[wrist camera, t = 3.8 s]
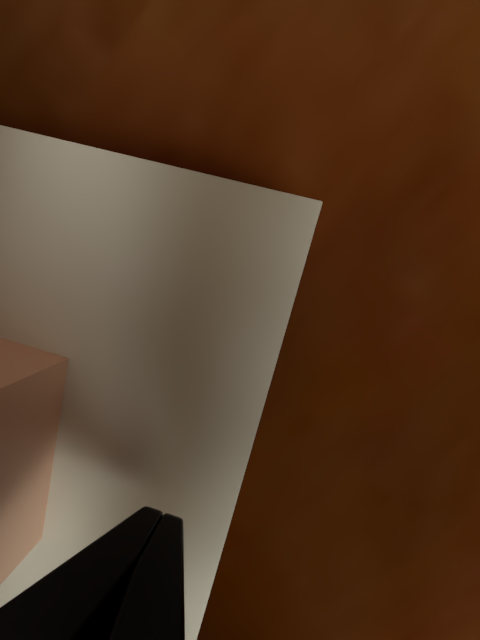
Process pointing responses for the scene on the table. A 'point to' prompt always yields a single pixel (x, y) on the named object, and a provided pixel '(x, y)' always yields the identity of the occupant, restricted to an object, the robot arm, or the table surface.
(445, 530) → the table surface
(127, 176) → the platform
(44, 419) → the tall peach block
